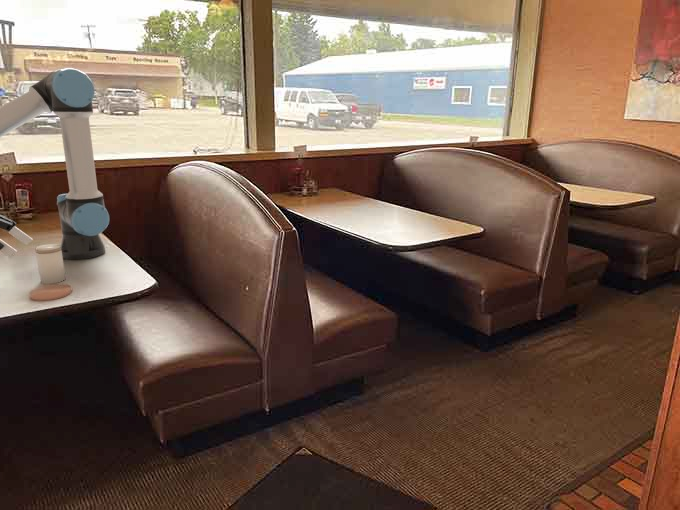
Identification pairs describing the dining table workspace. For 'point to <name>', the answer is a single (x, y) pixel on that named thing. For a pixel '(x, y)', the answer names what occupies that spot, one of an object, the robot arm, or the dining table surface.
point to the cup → (50, 263)
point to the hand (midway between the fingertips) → (22, 248)
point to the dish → (50, 292)
